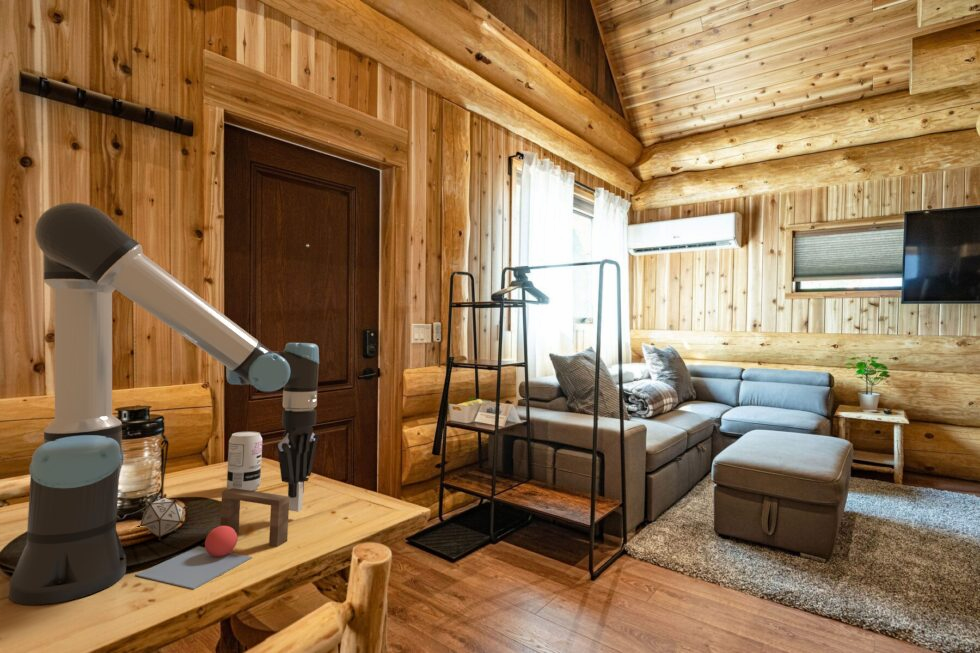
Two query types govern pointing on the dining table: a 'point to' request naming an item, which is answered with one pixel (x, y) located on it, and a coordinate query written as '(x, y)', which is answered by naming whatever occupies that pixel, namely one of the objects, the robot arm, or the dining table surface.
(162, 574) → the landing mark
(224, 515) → the bridge
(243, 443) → the supplement can
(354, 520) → the dining table surface
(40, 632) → the dining table surface
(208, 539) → the ball
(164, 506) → the game die
